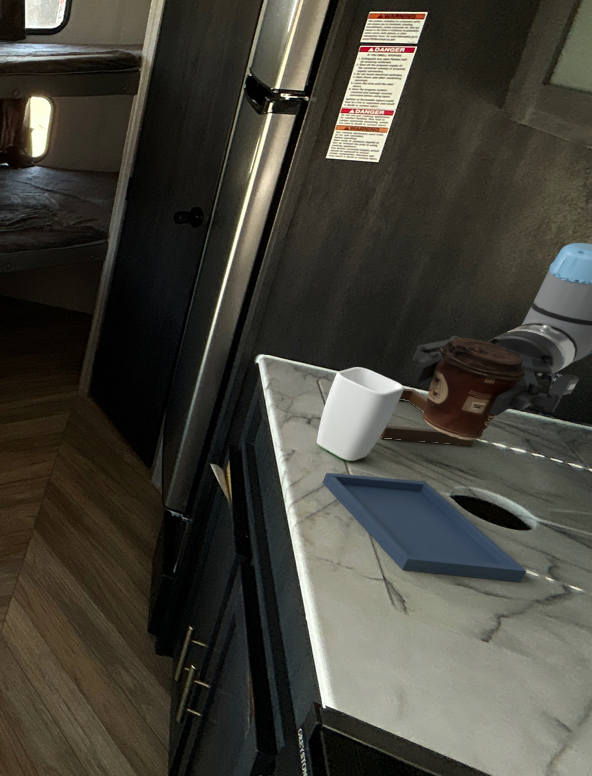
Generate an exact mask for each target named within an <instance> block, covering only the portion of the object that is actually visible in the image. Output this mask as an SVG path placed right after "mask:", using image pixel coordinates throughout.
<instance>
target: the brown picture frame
mask: <svg viewBox="0 0 592 776" xmlns="http://www.w3.org/2000/svg"><path fill="white" fill-rule="evenodd" d="M400 399H405V400H409V401H410V402H411V403H410V402H409V401H406V402H407V403H409V404H410V405H412V406H413V407H414V408H416V409H417V410H418V411H420V412H421V413H422V414H423V412H422V411H421V410H423V411H424V410H425V407H426V403H427V397H425V396H424V395H423V394H421V393H420V392H419V391H417V390H416V389H414V388H404V390H403V392H402V395H401V397H400ZM398 402H402V401H401V400H399V401H398ZM412 403H413V404H414V405H415V406H414V405H413V404H412ZM416 406H417V407H419V408H420V409H421V410H419V409H418V408H417V407H416ZM381 437H382V438H392V439H386V440H387V441H388V440H389V441H395V440H394V439H401V440H397V441H399V442H412V443H413V442H414V443H419V442H418V441H425V442H422V443H425V444H432V443H431V442H438V443H434V444H435V445H436V444H437V445H444V444H443V443H450V444H446V445H449V446H456V445H455V444H459V445H458V446H461V447H473V444H474V442H475V440H464V439H459V438H457V437H452V436H450V435H447V434H445V433H442V432H440V431H438V430H436V429H435V428H433V429H432V428H420V427H410V426H409V427H407V426H397V425H395V426H394V425H388V424H387V425H386V427H385V429H384V431H383V433H382V434H381ZM381 437H379V439H381V440H383V439H382V438H381ZM468 445H469V446H468Z"/></svg>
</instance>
